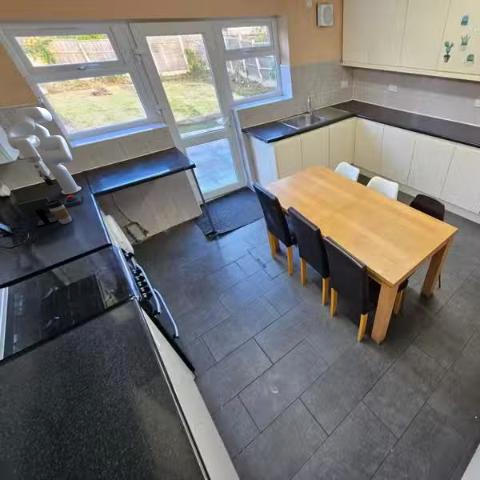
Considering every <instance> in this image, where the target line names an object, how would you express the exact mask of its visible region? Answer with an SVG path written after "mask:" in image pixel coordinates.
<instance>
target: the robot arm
mask: <svg viewBox="0 0 480 480" xmlns="http://www.w3.org/2000/svg"><path fill="white" fill-rule="evenodd" d="M14 116H15V124H13V126H11V127H10V128H9V129H8V131H7V134H6V136H7V137H6V138H7V142H8V144H9V146H10V147H11V148H12V149H14V150H18V151H19V152H20V154H21V155H22V157H23V158H24V159H25V161H26V162H27V164H30V165H31V168H32V169H33V170H34V172H35V173H36V175H37V176H38V177H39V178H42V179H43V181H44V182H45V184H46V185H47V186H48V187H51V186H54V185H55V183H54V181H53V180H52V178H51V177H50V174H52V176H53V177H54V179H55V180H56V182H57V183H58V185H59V187H60V188H61V189H62V190H61V194H62V195H73V194H76V193H78V192H80V191H81V190H82V186H79V185H78V184H77V182H76V181H75V179H74V178H73V176H72V175H71V172H70V171H69V169H68V168H67V167H66V166H64V165H62V164H67V163H71V162H73V160H74V158H73V155H72V152H71V150H70V148H69V145H68V143H67V141H66V139H65V138H64V137H63V136H62V135H60V134H54V135H51V134H50V132H49V129H47V128H46V127H44V126H43V125H41V124H43V123H49V122H52V121H53V116H52V114H51V113H50V111H49V110H47V109H46V108H43V107H38V106H30V107H29V106H28V107H19V108H17V109H16V110H15V115H14ZM31 133H32V134H31ZM37 148H39V149H40V150H41V151H43V152H42V153H39V152H38V150H37Z"/></svg>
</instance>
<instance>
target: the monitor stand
mask: <svg viewBox="0 0 480 480" xmlns="http://www.w3.org/2000/svg"><path fill="white" fill-rule="evenodd" d="M35 212H36V213H37V215H38V216H37V217H38V218H39V219H40V220H38V222H37V225H36V226H37V227H38V228H39V227H44V226H48V225H51V224H56V223H58V222H59V220H58V219H57V218H56V217H55V216H53V217H48V215H47V214H45V213H44V211H43V210H42V209H37V210H35Z"/></svg>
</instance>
